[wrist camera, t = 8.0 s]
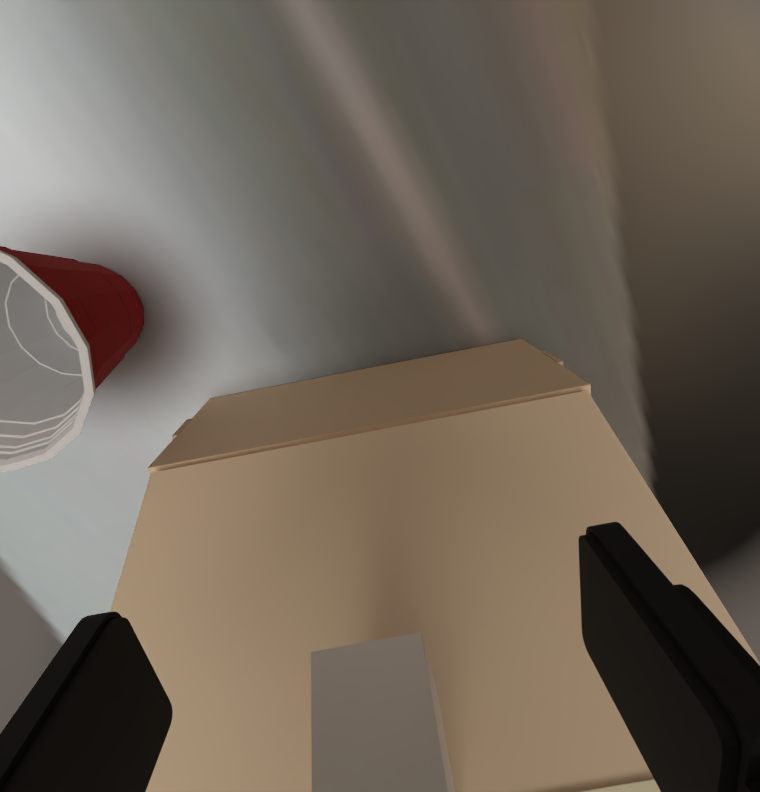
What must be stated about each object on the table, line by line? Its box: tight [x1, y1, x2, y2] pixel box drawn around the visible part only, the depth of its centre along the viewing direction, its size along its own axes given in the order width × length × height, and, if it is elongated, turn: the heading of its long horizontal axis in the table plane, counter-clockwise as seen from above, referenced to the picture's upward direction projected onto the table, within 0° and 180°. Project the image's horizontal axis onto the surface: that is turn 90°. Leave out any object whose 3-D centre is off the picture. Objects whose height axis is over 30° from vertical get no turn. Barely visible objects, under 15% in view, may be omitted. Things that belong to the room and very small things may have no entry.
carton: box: [148, 339, 591, 475], centre depth 30 cm, size 16×22×10 cm
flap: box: [110, 391, 760, 792], centre depth 15 cm, size 15×21×7 cm
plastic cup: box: [0, 246, 144, 472], centre depth 24 cm, size 11×11×12 cm
